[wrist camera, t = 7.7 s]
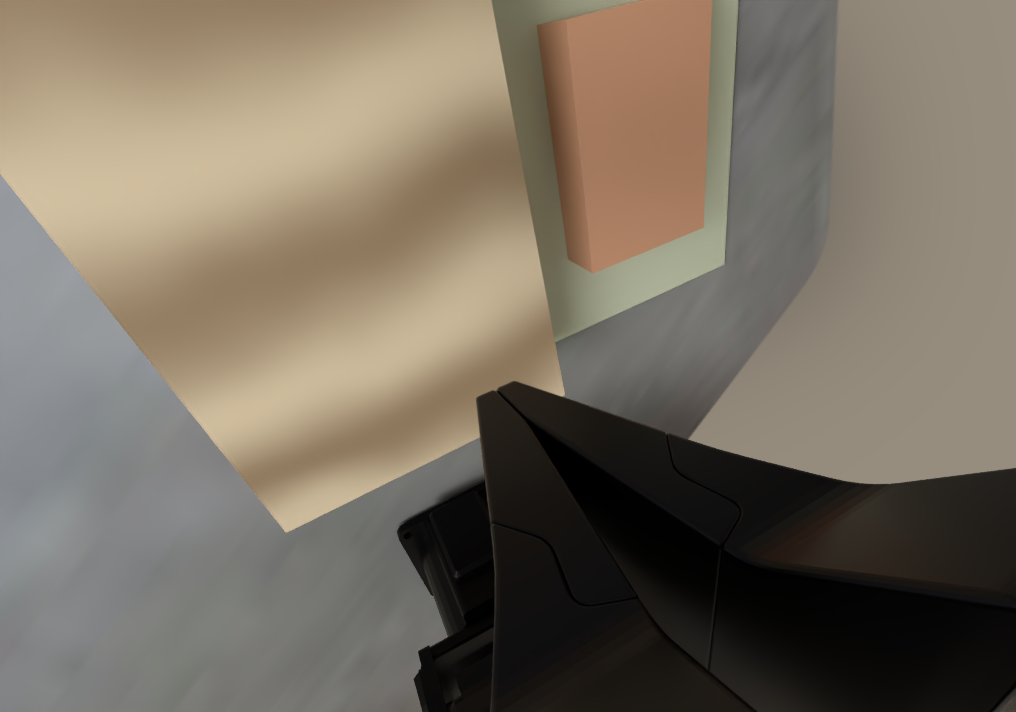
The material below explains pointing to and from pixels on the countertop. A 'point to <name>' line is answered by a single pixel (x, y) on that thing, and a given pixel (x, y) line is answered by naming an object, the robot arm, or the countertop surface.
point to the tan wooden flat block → (290, 218)
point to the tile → (628, 125)
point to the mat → (567, 285)
